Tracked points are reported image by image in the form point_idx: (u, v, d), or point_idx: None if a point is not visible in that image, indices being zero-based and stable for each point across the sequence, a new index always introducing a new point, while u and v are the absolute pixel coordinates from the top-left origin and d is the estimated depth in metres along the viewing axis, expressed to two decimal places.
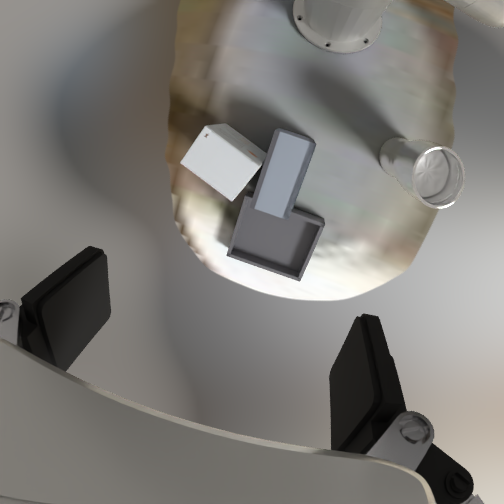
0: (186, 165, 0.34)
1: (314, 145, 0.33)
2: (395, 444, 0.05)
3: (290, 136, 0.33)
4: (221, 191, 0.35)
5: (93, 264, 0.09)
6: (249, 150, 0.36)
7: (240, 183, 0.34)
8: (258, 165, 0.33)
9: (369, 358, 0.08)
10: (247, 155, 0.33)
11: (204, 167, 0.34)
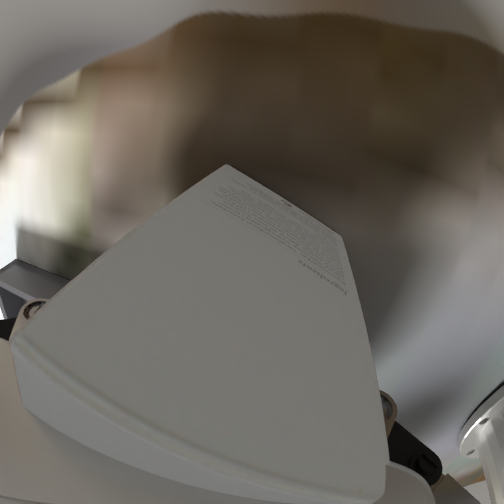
0: (27, 390, 0.03)
1: None
2: None
3: None
4: None
5: None
6: None
7: None
8: None
9: None
10: None
11: None
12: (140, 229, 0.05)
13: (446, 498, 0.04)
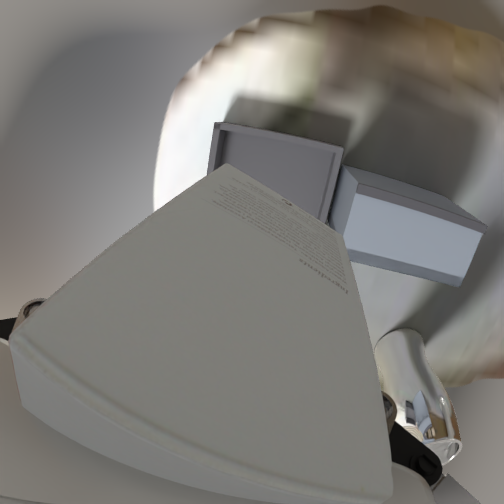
0: (26, 389, 0.03)
1: (458, 285, 0.18)
2: None
3: (474, 248, 0.17)
4: None
5: None
6: None
7: None
8: None
9: None
10: None
11: None
12: (140, 227, 0.05)
13: (446, 498, 0.04)
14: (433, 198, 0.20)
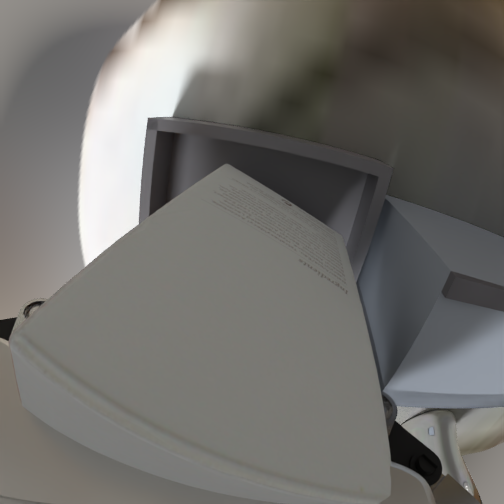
0: (26, 389, 0.03)
1: None
2: None
3: None
4: None
5: None
6: None
7: None
8: None
9: None
10: None
11: None
12: (140, 228, 0.05)
13: (446, 498, 0.04)
14: None
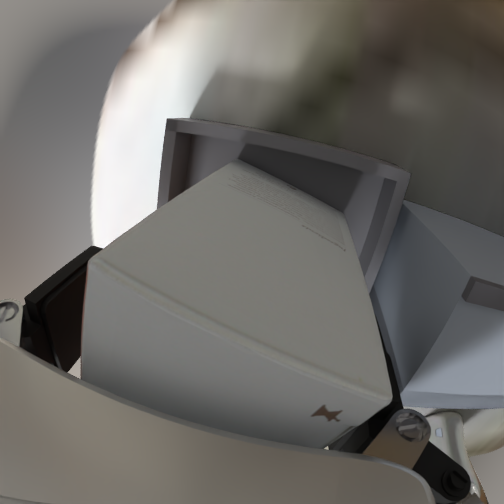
0: (93, 308, 0.04)
1: None
2: (392, 442, 0.05)
3: None
4: None
5: None
6: None
7: None
8: None
9: None
10: None
11: (136, 401, 0.05)
12: (175, 200, 0.07)
13: None
14: None
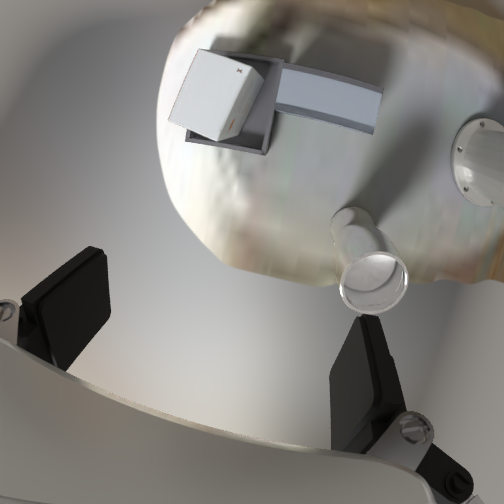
0: (197, 56, 0.23)
1: (371, 132, 0.27)
2: (395, 444, 0.05)
3: (377, 105, 0.26)
4: (176, 105, 0.26)
5: (93, 264, 0.09)
6: (235, 119, 0.29)
7: (190, 124, 0.26)
8: (217, 139, 0.27)
9: (369, 358, 0.08)
10: (226, 123, 0.26)
11: (200, 78, 0.24)
12: None
13: None
14: None
